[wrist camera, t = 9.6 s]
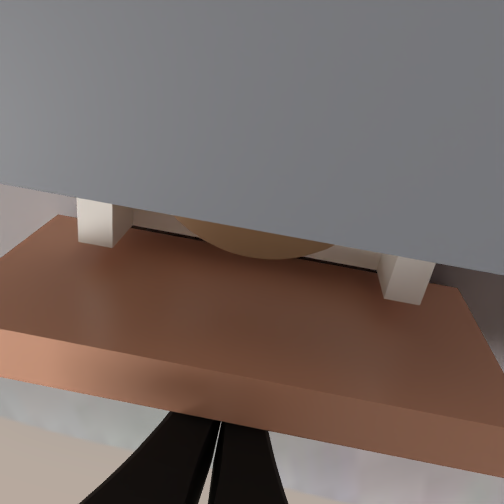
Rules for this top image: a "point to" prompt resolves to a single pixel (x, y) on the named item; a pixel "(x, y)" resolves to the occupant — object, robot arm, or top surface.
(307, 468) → the top surface
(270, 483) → the robot arm
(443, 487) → the top surface
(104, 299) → the drawer
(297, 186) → the storage box
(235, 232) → the walnut puck
